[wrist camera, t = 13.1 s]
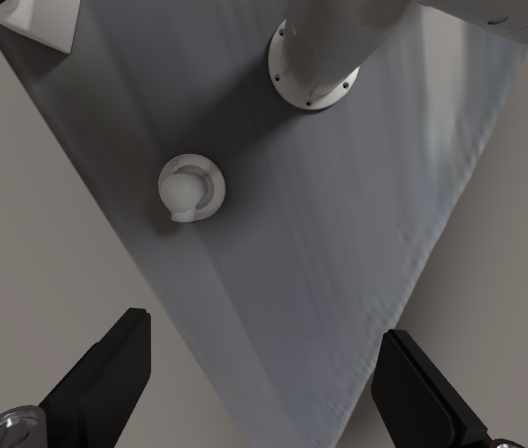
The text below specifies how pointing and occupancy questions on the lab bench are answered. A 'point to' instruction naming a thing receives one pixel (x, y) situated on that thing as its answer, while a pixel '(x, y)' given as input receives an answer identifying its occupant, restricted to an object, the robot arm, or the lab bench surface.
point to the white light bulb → (184, 195)
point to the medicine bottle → (42, 20)
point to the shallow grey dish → (207, 171)
